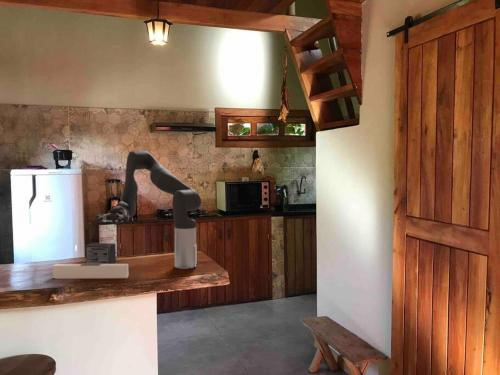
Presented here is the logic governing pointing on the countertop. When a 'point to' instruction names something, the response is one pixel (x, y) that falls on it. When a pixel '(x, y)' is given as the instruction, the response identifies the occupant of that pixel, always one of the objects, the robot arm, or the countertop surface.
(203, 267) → the countertop surface
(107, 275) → the board
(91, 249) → the small box
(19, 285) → the countertop surface
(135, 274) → the countertop surface
